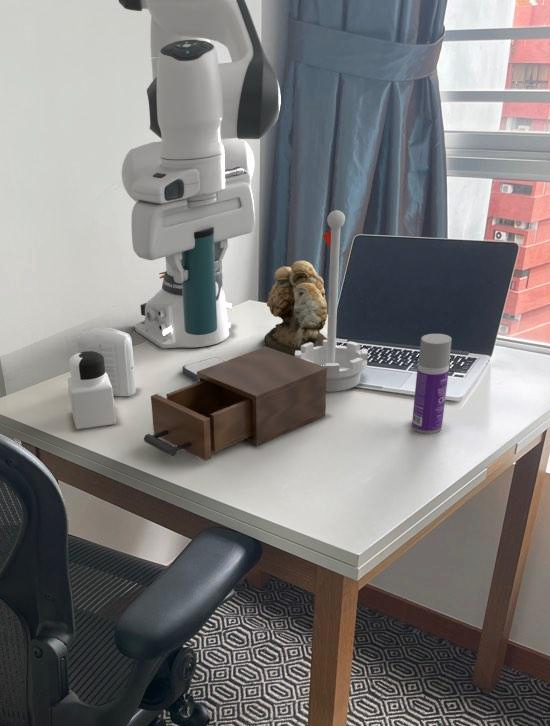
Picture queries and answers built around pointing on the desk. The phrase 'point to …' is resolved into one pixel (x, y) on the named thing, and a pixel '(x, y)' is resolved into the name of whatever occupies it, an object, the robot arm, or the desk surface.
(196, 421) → the drawer
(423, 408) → the container
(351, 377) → the flag stand
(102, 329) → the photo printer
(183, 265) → the tin
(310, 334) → the owl figurine
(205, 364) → the phone case
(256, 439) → the cabinet
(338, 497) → the desk surface
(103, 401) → the medicine bottle
